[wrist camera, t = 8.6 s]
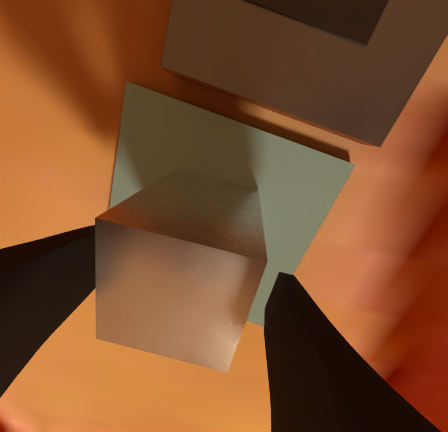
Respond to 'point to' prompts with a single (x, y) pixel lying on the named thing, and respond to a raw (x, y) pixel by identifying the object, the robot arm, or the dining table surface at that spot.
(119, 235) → the steel block
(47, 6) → the dining table surface
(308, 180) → the mat
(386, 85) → the grey flat rectangular board
